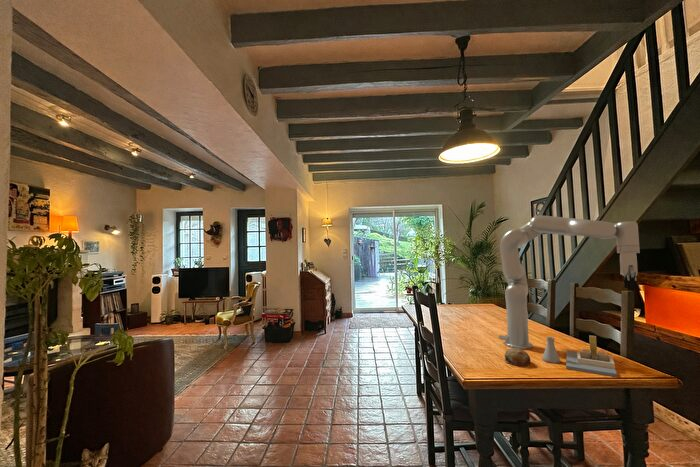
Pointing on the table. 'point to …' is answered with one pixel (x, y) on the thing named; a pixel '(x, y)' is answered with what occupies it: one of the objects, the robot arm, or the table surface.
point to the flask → (551, 352)
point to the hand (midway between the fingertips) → (630, 289)
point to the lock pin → (593, 347)
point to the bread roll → (517, 357)
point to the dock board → (591, 362)
